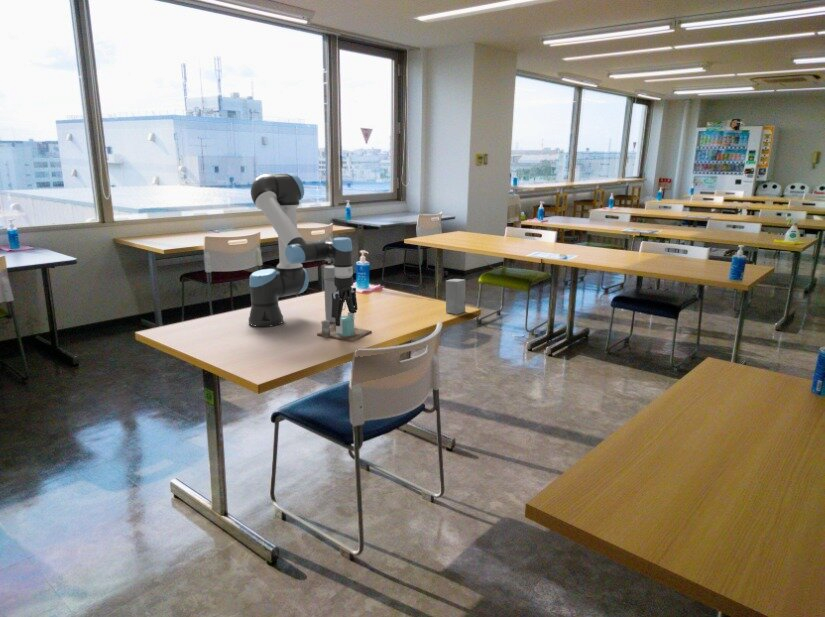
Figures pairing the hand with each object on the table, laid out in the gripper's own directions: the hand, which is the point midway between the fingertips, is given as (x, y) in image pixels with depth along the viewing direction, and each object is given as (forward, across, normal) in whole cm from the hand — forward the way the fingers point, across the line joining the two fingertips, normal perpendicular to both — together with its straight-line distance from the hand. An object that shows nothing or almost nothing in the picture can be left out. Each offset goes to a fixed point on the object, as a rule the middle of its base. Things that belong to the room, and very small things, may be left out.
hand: (345, 330), depth 230 cm
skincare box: (+3, +56, -24) cm, 61 cm away
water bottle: (+3, +16, +17) cm, 23 cm away
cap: (+2, 0, 0) cm, 2 cm away
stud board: (+2, +2, +2) cm, 4 cm away
